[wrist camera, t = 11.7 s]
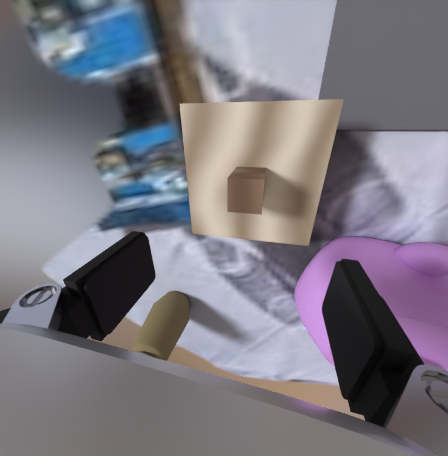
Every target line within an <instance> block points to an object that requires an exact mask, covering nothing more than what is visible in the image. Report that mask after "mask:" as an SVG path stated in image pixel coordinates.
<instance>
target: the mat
mask: <svg viewBox="0 0 448 456" xmlns="http://www.w3.org/2000/svg"><path fill="white" fill-rule="evenodd" d="M330 99H344V101H343V105H342V109H341V113H340V117H339V121H338V125H337V130H448V0H337V5H336V10H335V15H334V21H333V26H332V31H331V36H330V42H329V47H328V52H327V57H326V63H325V68H324V73H323V79H322V84H321V89H320V94H319V100H330Z"/></svg>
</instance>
